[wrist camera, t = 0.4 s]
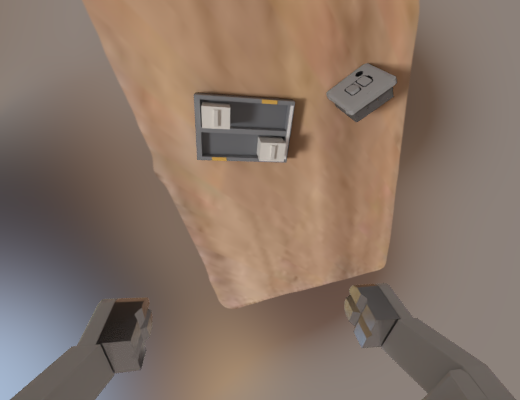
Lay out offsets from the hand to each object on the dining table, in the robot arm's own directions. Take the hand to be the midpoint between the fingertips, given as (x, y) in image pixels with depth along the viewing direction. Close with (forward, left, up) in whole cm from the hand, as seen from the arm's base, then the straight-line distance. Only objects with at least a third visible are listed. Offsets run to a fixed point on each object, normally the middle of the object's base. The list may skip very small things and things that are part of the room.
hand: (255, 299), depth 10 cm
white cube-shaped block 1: (+1, -3, -43) cm, 43 cm away
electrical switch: (-5, +24, -44) cm, 51 cm away
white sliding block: (+7, +8, -43) cm, 44 cm away
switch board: (+4, +3, -44) cm, 44 cm away
